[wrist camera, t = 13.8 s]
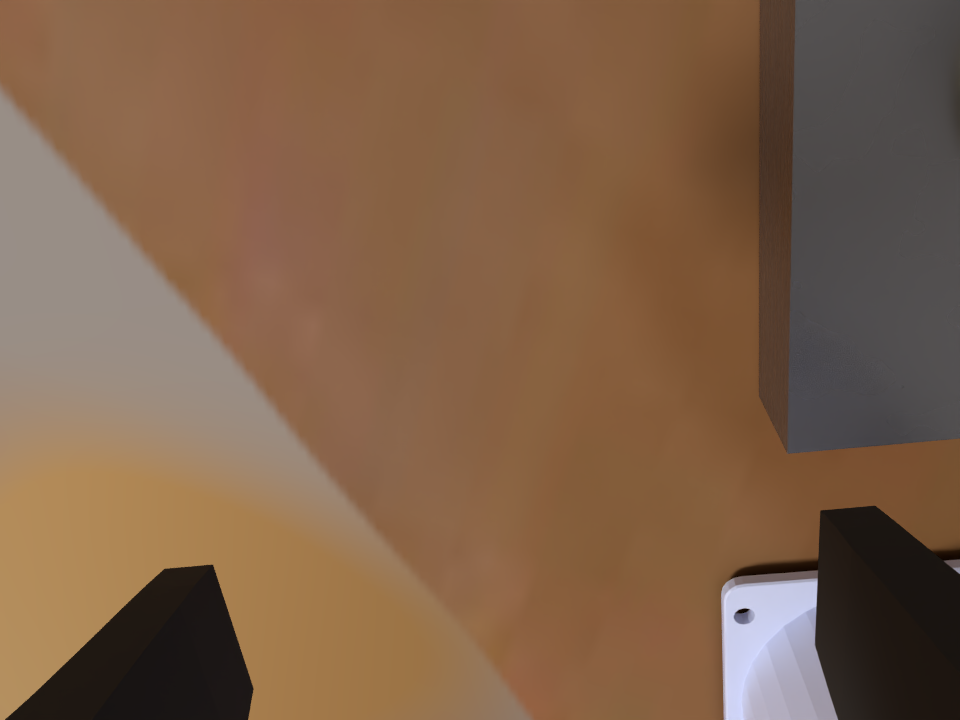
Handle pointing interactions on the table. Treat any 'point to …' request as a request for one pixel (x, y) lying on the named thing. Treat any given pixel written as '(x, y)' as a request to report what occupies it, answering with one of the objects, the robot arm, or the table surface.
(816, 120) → the block
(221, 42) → the table surface
